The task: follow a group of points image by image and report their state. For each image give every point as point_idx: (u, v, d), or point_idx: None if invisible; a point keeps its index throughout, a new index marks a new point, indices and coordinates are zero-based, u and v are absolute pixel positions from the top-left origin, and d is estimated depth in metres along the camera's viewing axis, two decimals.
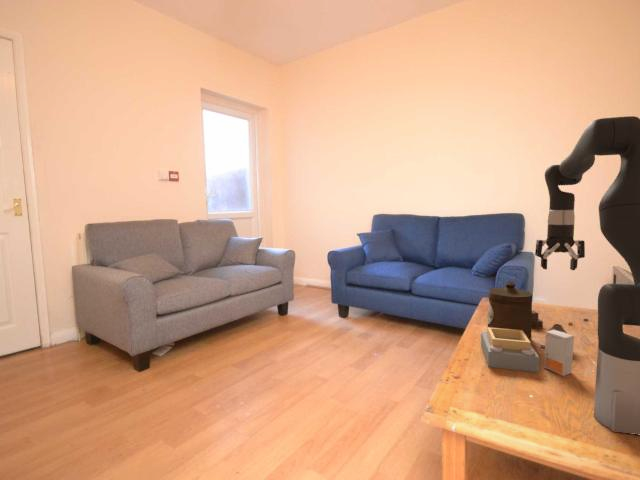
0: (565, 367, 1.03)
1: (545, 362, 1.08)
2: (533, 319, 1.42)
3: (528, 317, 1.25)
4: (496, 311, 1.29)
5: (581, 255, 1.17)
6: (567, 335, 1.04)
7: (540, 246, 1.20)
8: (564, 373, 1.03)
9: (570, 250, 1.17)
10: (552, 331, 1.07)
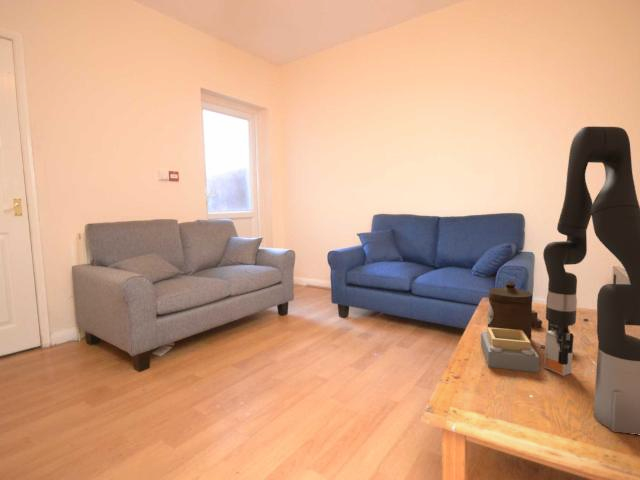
0: (565, 367, 1.03)
1: (545, 362, 1.08)
2: (532, 318, 1.43)
3: (528, 317, 1.25)
4: (496, 311, 1.29)
5: None
6: None
7: None
8: (564, 373, 1.03)
9: None
10: (552, 331, 1.07)
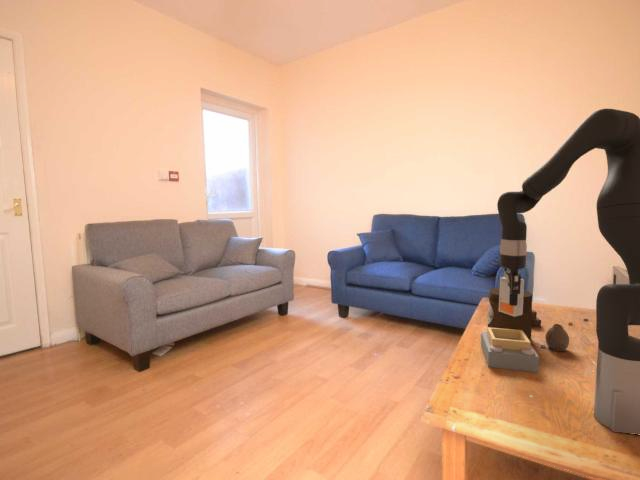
0: (516, 309, 1.11)
1: (499, 306, 1.16)
2: None
3: (528, 317, 1.25)
4: (496, 311, 1.29)
5: None
6: None
7: None
8: (515, 314, 1.11)
9: None
10: (505, 277, 1.15)
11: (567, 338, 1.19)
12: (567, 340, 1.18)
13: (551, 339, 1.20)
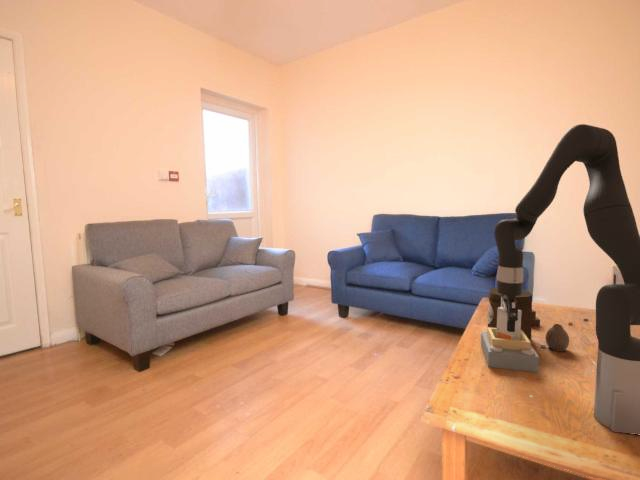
0: (514, 339, 1.12)
1: (497, 336, 1.17)
2: None
3: (528, 317, 1.25)
4: (496, 311, 1.29)
5: None
6: None
7: None
8: None
9: None
10: (503, 307, 1.15)
11: (567, 338, 1.19)
12: (567, 340, 1.18)
13: (551, 339, 1.20)
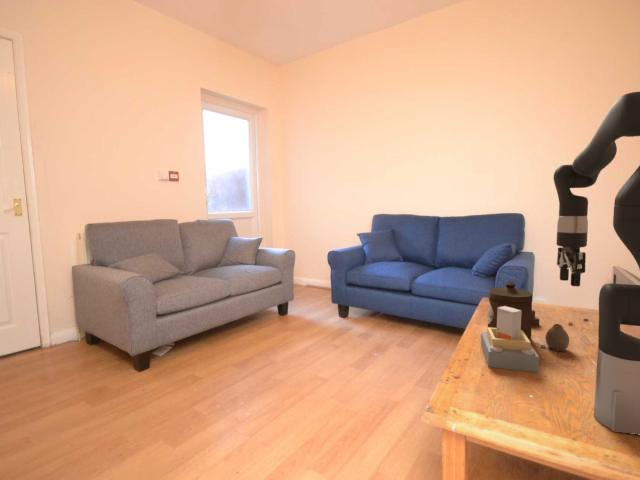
0: None
1: (497, 336, 1.17)
2: None
3: (528, 317, 1.25)
4: (496, 311, 1.29)
5: (566, 263, 1.11)
6: (515, 310, 1.12)
7: None
8: None
9: None
10: (503, 307, 1.15)
11: (567, 338, 1.19)
12: (567, 340, 1.18)
13: (551, 339, 1.20)
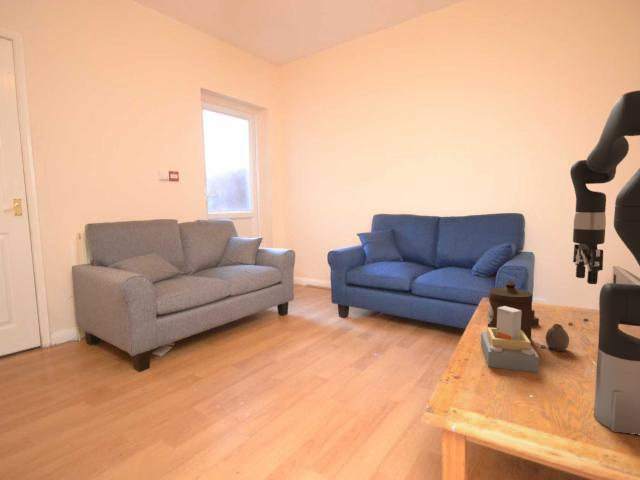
0: None
1: (497, 336, 1.17)
2: None
3: (528, 317, 1.25)
4: (496, 311, 1.29)
5: (583, 260, 1.09)
6: (515, 310, 1.12)
7: None
8: None
9: None
10: (503, 307, 1.15)
11: (567, 338, 1.19)
12: (567, 340, 1.18)
13: (551, 339, 1.20)
